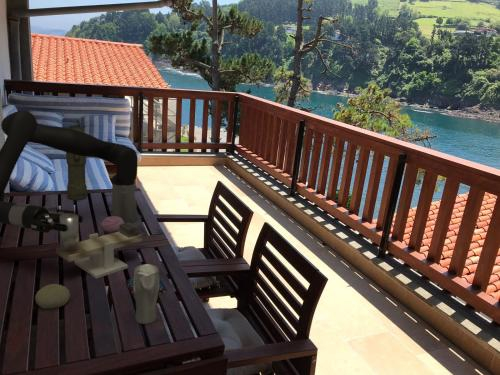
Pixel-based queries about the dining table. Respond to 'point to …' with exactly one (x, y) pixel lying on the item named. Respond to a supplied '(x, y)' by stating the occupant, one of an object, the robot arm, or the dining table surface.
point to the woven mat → (130, 286)
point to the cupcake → (111, 224)
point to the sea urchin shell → (52, 296)
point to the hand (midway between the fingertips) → (74, 223)
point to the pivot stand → (101, 261)
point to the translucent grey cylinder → (69, 233)
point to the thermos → (76, 174)
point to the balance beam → (104, 242)
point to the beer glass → (146, 292)
